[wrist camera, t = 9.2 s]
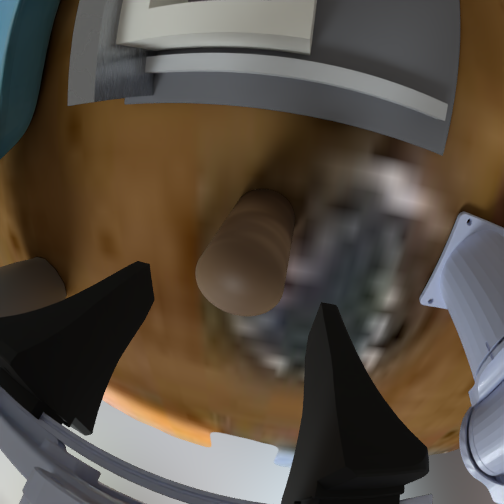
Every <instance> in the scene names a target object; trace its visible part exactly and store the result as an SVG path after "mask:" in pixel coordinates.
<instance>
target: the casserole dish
mask: <svg viewBox="0 0 504 504" xmlns="http://www.w3.org/2000/svg"><path fill="white" fill-rule="evenodd" d="M59 3H60V0H0V159H1V158H2V157H3V156H4V155H5V154H6V153H7V152H8V151H9V150H10V149H11V148H12V147H13V146H14V145H15V144H16V143H17V142H18V141H19V140H20V139H21V137H22V136H23V135H24V133H25V132H26V130H27V128H28V126H29V124H30V122H31V119H32V116H33V114H34V111H35V107H36V104H37V99H38V95H39V90H40V85H41V79H42V74H43V68H44V63H45V58H46V53H47V48H48V43H49V39H50V35H51V31H52V27H53V23H54V20H55V16H56V13H57V9H58V6H59Z"/></svg>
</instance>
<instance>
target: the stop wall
mask: <svg viewBox="0 0 504 504" xmlns="http://www.w3.org/2000/svg"><path fill="white" fill-rule="evenodd" d="M122 3H123V0H80V1H79V6H78V10H77V15H76V20H75V26H74V32H73V39H72V47H71V55H70V66H69V81H68V106H71V105H77V104H83V103H90V102H97V101H104V100H111V99H120V98H129V97H140V96H154V84H155V73H145V67H146V57H151V56H157V53H158V51H153V50H148V49H142V48H137V47H130V46H124V45H116V38H117V31H118V25H119V19H120V13H121V8H122Z"/></svg>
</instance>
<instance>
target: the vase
mask: <svg viewBox="0 0 504 504" xmlns="http://www.w3.org/2000/svg"><path fill="white" fill-rule="evenodd" d="M65 297H66V291H65V286H64V283H63V281H62V280H61V278H60V276H59V275H58V273H57V271H56V270H55V269H54V268H53V267H52V266H51V265H50V264H49V263H48V262H47V261H46V260H45V259H42V258H39V257H35V258H33V259H29V260H24V261H20V262H16V263H12V264H9V265H6V266H3V267H0V317H6V316H12V315H18V314H22V313H26V312H30V311H34V310H37V309H40V308H43V307H46V306H49V305H52V304H55V303H57V302H60V301H62V300H64V299H65Z"/></svg>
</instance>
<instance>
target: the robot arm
mask: <svg viewBox="0 0 504 504" xmlns="http://www.w3.org/2000/svg"><path fill="white" fill-rule="evenodd" d="M468 219H470V221H469V222H468V223H467V221H468ZM419 299H420V303H421V304H422V305H427V306H433V307H438V308H444V309H448V310H449V313H450V315H451V317H452V320H453V322H454V324H455V327H456V329H457V332H458V334H459V337H460V339H461V342H462V345H463V347H464V350H465V353H466V356H467V359H468V362H469V365H470V368H471V371H472V374H473V377H474V380H475V384H474V386H473V387H472V389H471V390H470V391H469V392H468V393H469V397H470V401H471V405H472V406H471V407H470V408H469V409H468V411H467V412H466V414H465V416H464V418H463V420H462V424H461V428H460V438H459V441H460V450H461V456H462V459H463V462H464V464H465V466H466V468H467V470H468V471H469V473H470V474H471V475H472V476H473V477H474V478H476V479H477V480H479V481H481V482H482V483H483V484H484V485H485V486H486V487H487V488H488V490H489V492H490V494H491V496H492V499H493V501H494V502H495V503H499V504H504V228H503V227H501V226H498V225H496V224H494V223H492V222H489V221H487V220H484V219H482V218H480V217H477V216H475V215H472V214H470V213H467V212H461V213H460V214H459V215H458V217H457V219H456V222H455V224H454V227H453V229H452V232H451V234H450V237H449V239H448V241H447V244H446V246H445V248H444V250H443V252H442V255H441V257H440V259H439V261H438V263H437V265H436V267H435V269H434V271H433V273H432V275H431V277H430V279H429V281H428V283H427V285H426V287H425V289H424V290H423V292H422V294H421V296H420V298H419ZM430 299H431V300H430ZM429 300H430V301H429ZM153 302H154V293H153V287H152V280H151V272H150V264H147V263H143V262H139V261H137V262H135V263H133V264H131V265H129V266H127V267H125V268H123V269H122V270H120V271H118V272H116V273H114V274H113V275H111V276H109V277H107V278H106V279H104V280H102V281H100V282H99V283H97V284H95V285H93V286H91V287H89V288H87V289H85V290H83V291H81V292H79V293H78V294H75V295H73V296H71V297H69V298H67V299H64V300H62V301H60V302H57V303H55V304H52V305H49V306H46V307H43V308H40V309H37V310H34V311H30V312H26V313H22V314H18V315H12V316H6V317H0V449H1V451H2V452H3V453H4V454H5V455H6V457H7V458H8V459H9V460H10V461H11V463H12V464H13V465H14V466H15V467H16V468H17V469H18V471H19V472H20V473H21V474H22V475H23V476H24V477H25V478H26V479H27V482H26V484H25V486H24V488H23V493H24V494H23V496H22V499H21V501H20V503H19V504H145V503H143V502H140V501H138V500H136V499H133V498H131V497H129V496H127V495H125V494H122V493H120V492H118V491H116V490H114V489H112V488H110V487H108V486H106V485H104V484H102V483H101V482H99V481H98V479H99V477H100V475H101V474H100V472H99V471H97V470H95V469H94V468H92V467H90V466H88V465H87V464H85V463H84V462H82V461H80V460H79V459H77V458H76V457H74V456H72V455H71V454H69V453H68V452H67V451H66V447H65V445H67V446H68V447H70V448H72V449H73V450H75V451H76V452H78V453H79V454H81V455H82V456H84V457H86V458H87V459H89V460H91V461H93V462H94V463H96V464H98V465H99V466H101V467H103V468H105V469H107V470H109V471H111V472H113V473H114V474H116V475H118V476H120V477H123V478H125V479H127V480H129V481H131V482H133V483H136V484H138V485H140V486H143V487H145V488H147V489H150V490H152V491H154V492H157V493H160V494H162V495H165V496H168V497H171V498H173V499H177V500H179V501H182V502H186V503H189V504H265V503H258V502H252V501H246V500H241V499H235V498H230V497H227V496H222V495H218V494H214V493H210V492H206V491H203V490H199V489H196V488H192V487H189V486H186V485H183V484H180V483H177V482H174V481H171V480H168V479H165V478H163V477H160V476H158V475H155V474H153V473H150V472H147V471H145V470H143V469H140V468H138V467H136V466H134V465H131V464H129V463H127V462H125V461H123V460H121V459H119V458H117V457H115V456H113V455H111V454H109V453H107V452H105V451H103V450H102V449H100V448H98V447H96V446H94V445H93V444H91V443H89V442H87V441H86V440H84V439H82V438H81V437H79V436H78V435H76V434H74V433H73V432H71V431H70V430H68V429H67V428H65V427H64V426H62V423H63V424H64V425H66V426H68V427H70V426H71V427H72V428H74V429H75V430H77V431H79V432H80V433H82V434H84V435H90V434H92V433H93V428H94V424H95V420H96V417H97V413H98V410H99V407H100V403H101V401H102V398H103V395H104V392H105V390H106V387H107V385H108V383H109V380H110V378H111V376H112V373H113V371H114V369H115V367H116V365H117V363H118V361H119V359H120V357H121V356H122V354H123V352H124V351H125V349H126V348H127V346H128V345H129V343H130V342H131V340H132V338H133V337H134V335H135V334H136V332H137V331H138V329H139V328H140V326H141V325H142V323H143V321H144V320H145V318H146V316H147V314H148V312H149V310H150V308H151V306H152V304H153ZM428 472H429V457H428V450H427V447H426V446H425V445H424V444H423V443H422V442H421V441H420V440H419V439H418V438H417V437H416V436H415V435H414V434H413V433H412V432H411V431H410V430H409V429H408V428H407V427H406V426H405V425H404V424H403V422H402V421H401V420H400V419H399V418H398V417H397V415H396V414H395V413H394V412H393V410H392V409H391V408H390V406H389V405H388V404H387V402H386V401H385V400H384V398H383V397H382V396H381V394H380V393H379V391H378V390H377V388H376V386H375V385H374V383H373V382H372V380H371V378H370V377H369V375H368V373H367V371H366V369H365V368H364V366H363V364H362V362H361V360H360V358H359V356H358V354H357V352H356V350H355V348H354V345H353V343H352V341H351V339H350V337H349V334H348V332H347V330H346V327H345V325H344V323H343V320H342V318H341V315H340V312H339V310H338V307H337V306H336V305H333V304H327V303H322V302H321V304H320V307H319V310H318V312H317V315H316V318H315V320H314V323H313V326H312V328H311V331H310V333H309V336H308V342H307V349H306V356H305V377H304V401H303V413H302V419H301V425H300V430H299V436H298V440H297V445H296V450H295V454H294V458H293V462H292V466H291V470H290V474H289V477H288V481H287V484H286V488H285V491H284V494H283V497H282V501H281V504H433V495H432V494H428V495H424V496H419V497H414V498H409V499H404V500H400V494H403V493H404V485H405V484H408V483H410V482H413V481H415V480H417V479H420V478H422V477H424V476H425V475H426V474H427V473H428Z"/></svg>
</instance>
